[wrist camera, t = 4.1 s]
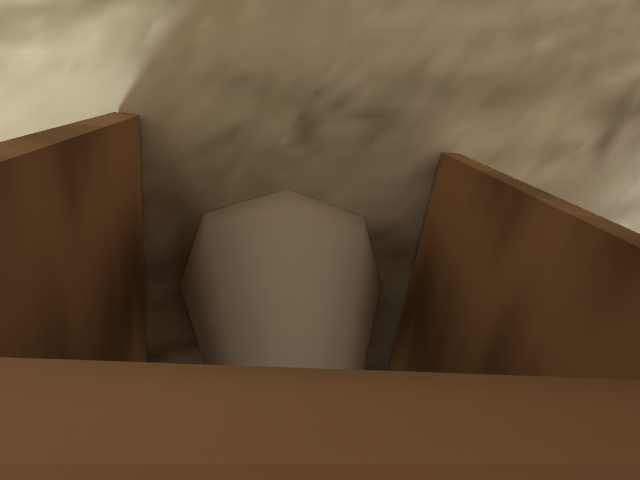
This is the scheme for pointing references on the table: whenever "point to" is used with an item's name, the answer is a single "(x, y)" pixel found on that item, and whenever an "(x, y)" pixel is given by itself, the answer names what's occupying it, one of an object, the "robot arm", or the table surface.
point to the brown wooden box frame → (315, 383)
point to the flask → (282, 284)
